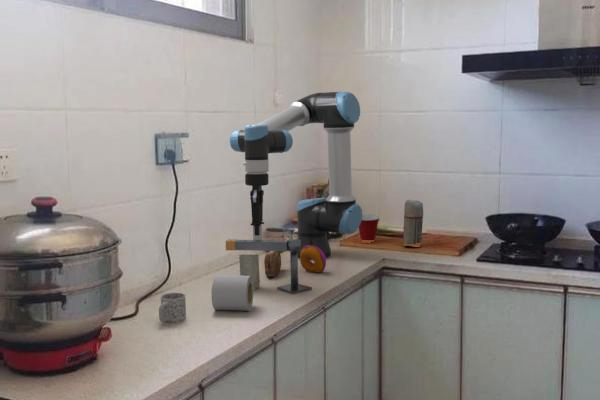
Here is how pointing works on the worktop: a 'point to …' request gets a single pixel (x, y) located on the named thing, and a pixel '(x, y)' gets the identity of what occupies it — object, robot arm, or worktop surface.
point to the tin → (272, 263)
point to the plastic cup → (368, 226)
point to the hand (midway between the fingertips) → (257, 244)
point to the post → (294, 277)
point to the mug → (172, 308)
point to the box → (250, 267)
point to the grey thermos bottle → (413, 222)
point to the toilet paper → (232, 292)
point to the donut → (315, 255)
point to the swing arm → (264, 245)
